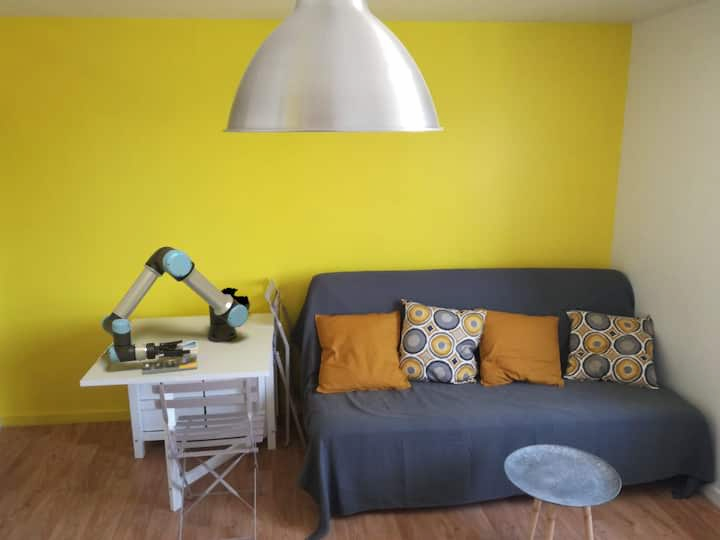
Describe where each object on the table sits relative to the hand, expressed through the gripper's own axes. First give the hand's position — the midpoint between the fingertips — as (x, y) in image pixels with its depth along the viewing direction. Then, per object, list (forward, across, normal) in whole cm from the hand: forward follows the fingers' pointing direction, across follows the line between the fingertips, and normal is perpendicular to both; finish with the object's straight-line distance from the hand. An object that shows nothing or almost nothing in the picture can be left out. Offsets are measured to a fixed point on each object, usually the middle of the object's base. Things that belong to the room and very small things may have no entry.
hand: (197, 346), depth 287 cm
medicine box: (-5, 0, -6) cm, 8 cm away
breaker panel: (-13, 0, -9) cm, 15 cm away
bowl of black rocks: (+21, -62, -9) cm, 66 cm away
